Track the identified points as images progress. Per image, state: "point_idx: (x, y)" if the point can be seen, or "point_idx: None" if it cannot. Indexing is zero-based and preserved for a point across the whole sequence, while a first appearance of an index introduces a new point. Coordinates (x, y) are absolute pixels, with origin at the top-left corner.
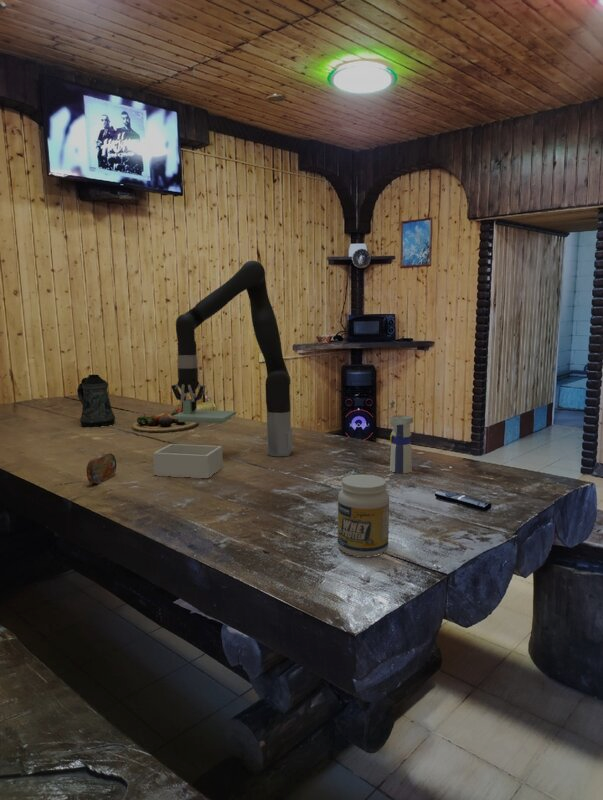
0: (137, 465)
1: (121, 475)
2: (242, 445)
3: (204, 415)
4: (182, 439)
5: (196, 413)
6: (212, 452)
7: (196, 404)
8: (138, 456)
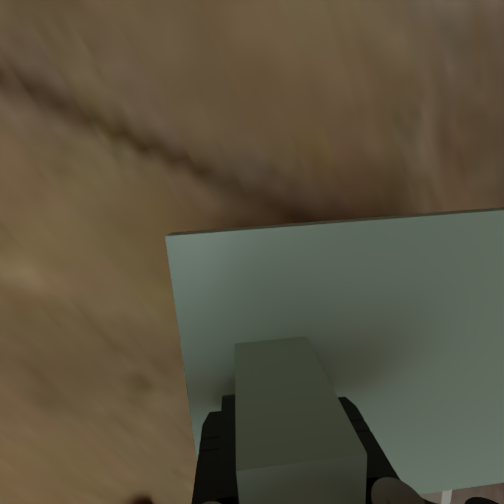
0: (147, 418)
1: (169, 497)
2: (386, 65)
3: (434, 437)
4: (51, 4)
5: (343, 392)
6: (450, 500)
7: (378, 444)
8: (74, 334)
